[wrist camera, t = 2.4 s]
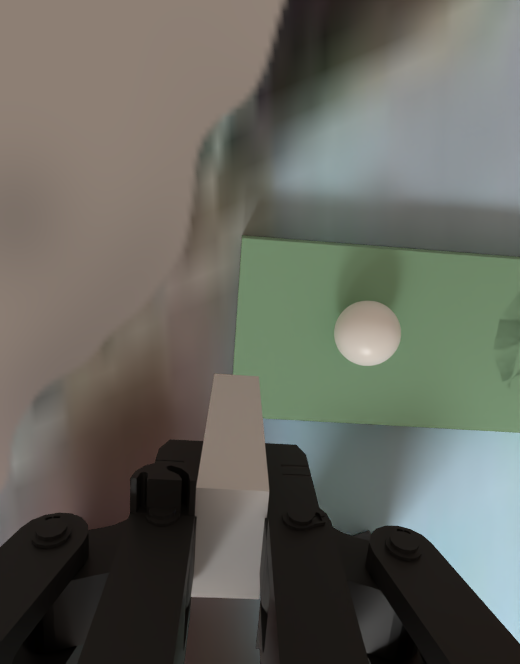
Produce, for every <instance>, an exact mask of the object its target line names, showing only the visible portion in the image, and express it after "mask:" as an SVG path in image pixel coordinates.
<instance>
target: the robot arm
mask: <svg viewBox="0 0 520 664" xmlns="http://www.w3.org/2000/svg"><path fill="white" fill-rule="evenodd" d="M259 594H260V596H261V601H260V611H259V621H258V631H257V642H256V649H260V664H520V644H519V642H518V641H517V640H516V639H515V638H514V637H513V636H512V634H511V633H510V632H509V631H508V630H507V629H506V628H505V626H504V625H503V624H502V623H501V622H500V621H499V620H498V618H497V617H496V616H495V615H494V614H493V613H492V612H491V610H490V609H489V608H488V607H487V606H486V605H485V604H484V602H483V601H482V600H481V599H480V598H479V597H478V596H477V595H476V593H475V592H474V591H473V590H472V589H471V588H470V587H469V585H468V584H467V583H466V582H465V581H464V580H463V579H462V577H461V576H460V575H459V574H458V573H457V572H456V571H455V569H454V568H453V567H452V566H451V565H450V564H449V563H448V561H447V560H446V559H445V558H444V557H443V556H442V555H441V553H440V552H439V551H438V550H437V549H436V548H435V547H434V545H433V544H432V543H431V542H429V541H428V540H427V539H426V538H425V537H424V536H422V535H421V534H419V533H417V532H415V531H413V530H411V529H408V528H404V527H400V526H383V527H380V528H377V529H376V530H375V531H373V532H372V533H371V534H370V540H369V541H368V540H365V539H361V538H357V537H354V536H350V535H348V534H345V533H342V532H340V531H338V530H337V529H335V528H333V527H332V524H331V521H330V519H329V517H328V516H327V514H326V513H325V512H324V511H322V510H321V509H320V508H319V505H318V501H317V497H316V493H315V489H314V485H313V481H312V477H311V473H310V469H309V465H308V461H307V457H306V454H305V453H304V452H303V451H302V450H301V449H300V448H299V447H298V446H297V445H288V444H270V443H265V438H264V428H263V417H262V406H261V395H260V385H259V376H245V375H228V374H214V379H213V386H212V392H211V398H210V404H209V410H208V417H207V423H206V429H205V435H204V441H188V440H169V441H168V442H167V443H165V444H164V445H163V446H162V447H161V448H159V451H158V454H157V457H156V462H155V463H153V464H150V465H146V466H144V467H142V468H140V469H138V470H137V471H135V473H134V474H133V475H132V477H131V478H130V515H129V518H128V519H127V520H125V521H123V522H121V523H118V524H116V525H112V526H108V527H104V528H98V529H93V530H88V524H87V523H86V522H85V521H84V519H83V518H82V517H79V516H77V515H74V514H70V513H55V514H48V515H44V516H41V517H39V518H36V519H34V520H31V521H30V522H29V523H27V524H26V525H24V526H23V527H21V528H20V529H19V530H18V531H17V532H16V533H15V534H14V535H13V536H12V537H11V538H10V539H9V540H8V541H6V542H5V543H4V544H3V545H2V546H1V547H0V664H184V660H185V652H186V644H187V636H188V627H189V619H190V601H191V597H209V598H238V599H259Z"/></svg>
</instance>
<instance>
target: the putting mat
mask: <svg viewBox="0 0 520 664" xmlns="http://www.w3.org/2000/svg"><path fill="white" fill-rule="evenodd" d="M360 301H376V302H379V303H381V304H384V305H385V306H387V307H388V308H389V309H391V310H392V312H393V313H394V314H395V315H396V317H397V319H398V321H399V323H400V327H401V339H400V343H399V346H398V348H397V350H396V351H395V353H394V354H393V355H392V356H391V357H390V358H389V359H387V360H386V361H384V362H383V363H380V364H377V365H373V366H362V365H358V364H355V363H353V362H351V361H349V360H348V359H346V358H345V357H344V356H343V355H342V354H341V352H340V351H339V349H338V348H337V345H336V343H335V339H334V328H335V324H336V321H337V319H338V317H339V315H340V314H341V313H342V312H343V311H344V310H345V309H346V308H347V307H348V306H350V305H352V304H354V303H356V302H360ZM233 375H245V376H259V385H260V395H261V406H262V417H263V418H266V419H284V420H301V421H319V422H337V423H355V424H373V425H391V426H409V427H427V428H445V429H462V430H480V431H498V432H516V433H520V257H514V256H501V255H489V254H476V253H463V252H450V251H437V250H424V249H411V248H399V247H386V246H373V245H360V244H347V243H334V242H321V241H309V240H296V239H283V238H270V237H257V236H244V235H242V245H241V260H240V275H239V289H238V304H237V319H236V334H235V348H234V363H233Z"/></svg>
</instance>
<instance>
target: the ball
mask: <svg viewBox="0 0 520 664" xmlns="http://www.w3.org/2000/svg"><path fill="white" fill-rule="evenodd" d="M334 339H335V343H336V345H337V348H338V349H339V351H340V352H341V354H342V355H343V356H344V357H345V358H346V359H348V360H349V361H351V362H353V363H355V364H358V365H362V366H373V365H377V364H380V363H383V362H384V361H386V360H387V359H389V358H390V357H391V356H392V355H393V354H394V353H395V351H396V350H397V348H398V346H399V343H400V339H401V327H400V323H399V321H398V319H397V317H396V315H395V314H394V313H393V312H392V310H391V309H389V308H388V307H387V306H385V305H384V304H381V303H379V302H376V301H360V302H356V303H354V304H352V305H350V306H348V307H347V308H346V309H345V310H344V311H343V312H342V313H341V314H340V315H339V317H338V319H337V321H336V324H335V328H334Z"/></svg>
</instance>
